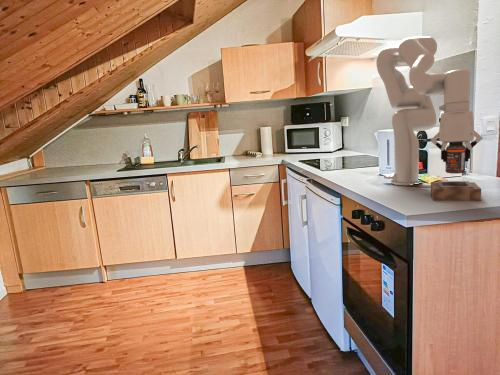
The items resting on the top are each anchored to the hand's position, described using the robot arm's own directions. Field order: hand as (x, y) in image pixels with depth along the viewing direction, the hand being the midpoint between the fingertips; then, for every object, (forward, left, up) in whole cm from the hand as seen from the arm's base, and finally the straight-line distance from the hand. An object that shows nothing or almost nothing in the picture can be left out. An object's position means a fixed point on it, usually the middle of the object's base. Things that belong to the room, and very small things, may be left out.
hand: (455, 160), depth 123 cm
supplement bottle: (0, 0, -4) cm, 4 cm away
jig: (0, 0, -13) cm, 13 cm away
